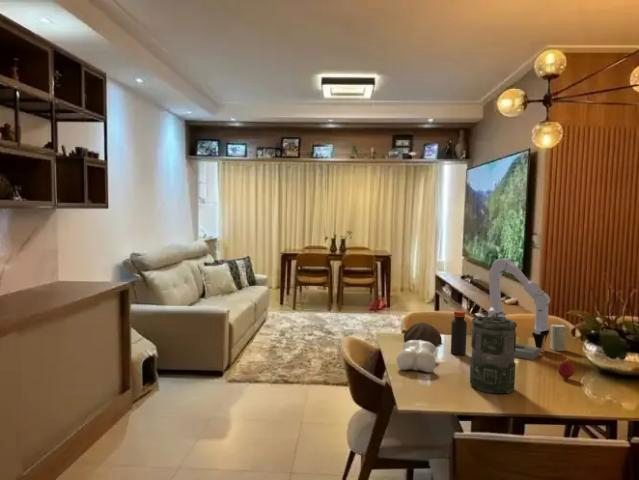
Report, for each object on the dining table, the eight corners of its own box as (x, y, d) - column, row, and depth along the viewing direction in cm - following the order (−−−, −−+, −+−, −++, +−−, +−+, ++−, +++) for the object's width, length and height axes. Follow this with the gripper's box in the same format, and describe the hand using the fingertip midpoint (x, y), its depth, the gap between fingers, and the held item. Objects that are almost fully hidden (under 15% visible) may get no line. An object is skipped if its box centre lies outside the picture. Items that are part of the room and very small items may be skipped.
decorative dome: (398, 337, 258) (399, 318, 258) (434, 337, 260) (435, 318, 260) (408, 346, 239) (409, 326, 239) (447, 346, 241) (448, 326, 240)
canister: (509, 398, 170) (512, 319, 169) (464, 389, 179) (467, 314, 178) (517, 385, 184) (520, 312, 183) (475, 377, 192) (478, 308, 191)
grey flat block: (496, 353, 229) (497, 346, 229) (504, 348, 239) (504, 342, 238) (532, 360, 219) (533, 353, 219) (538, 354, 229) (539, 347, 229)
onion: (567, 382, 189) (568, 362, 189) (554, 377, 194) (555, 358, 194) (577, 380, 192) (577, 360, 192) (563, 376, 197) (564, 356, 197)
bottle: (449, 354, 225) (451, 312, 224) (451, 351, 231) (453, 309, 231) (464, 356, 223) (466, 313, 222) (466, 352, 229) (467, 311, 228)
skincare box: (562, 348, 241) (563, 324, 240) (565, 351, 236) (566, 326, 236) (549, 348, 241) (550, 324, 241) (552, 350, 237) (553, 326, 236)
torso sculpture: (434, 381, 194) (437, 354, 222) (435, 355, 192) (438, 331, 221) (395, 376, 198) (403, 350, 226) (395, 352, 196) (403, 328, 225)
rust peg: (535, 351, 235) (536, 335, 235) (537, 349, 238) (537, 333, 237) (543, 352, 233) (543, 336, 233) (544, 351, 236) (545, 334, 235)
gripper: (547, 322, 226) (545, 350, 227) (553, 317, 238) (552, 344, 239) (531, 319, 231) (530, 348, 231) (538, 315, 242) (537, 342, 243)
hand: (540, 346), depth 235 cm, fingers open, 7 cm apart
